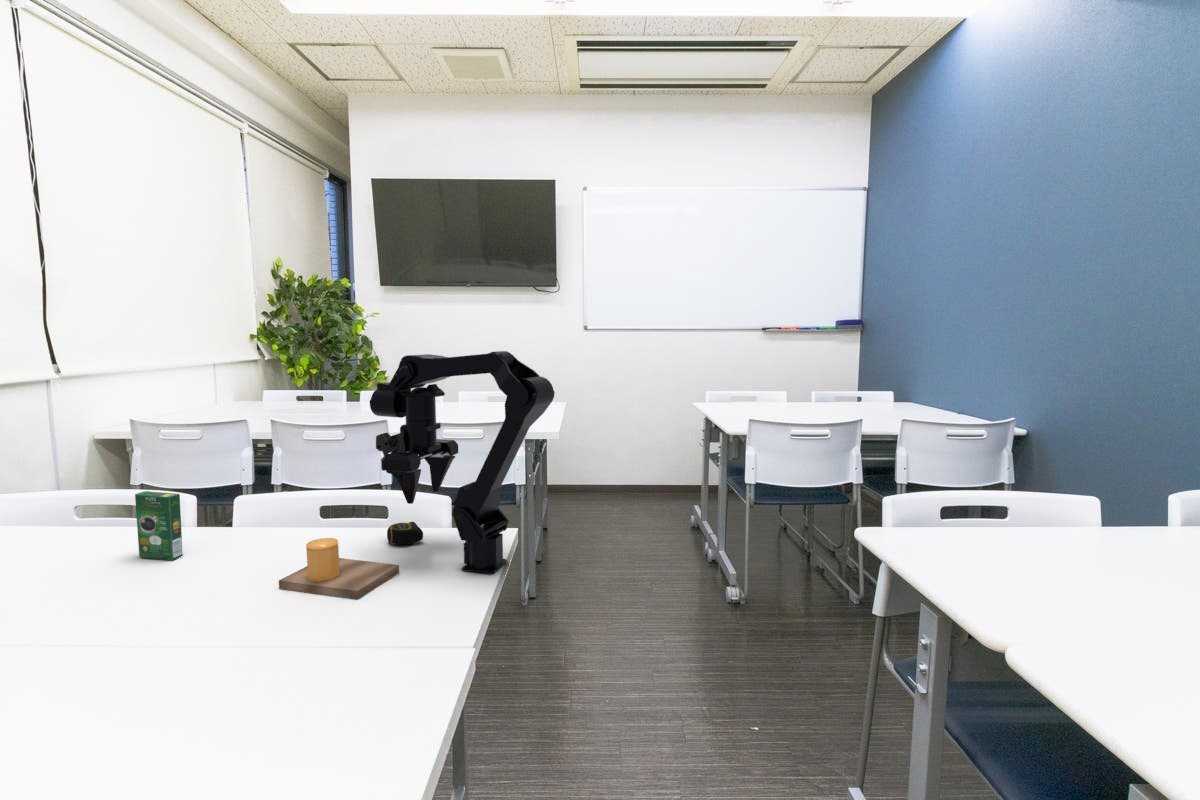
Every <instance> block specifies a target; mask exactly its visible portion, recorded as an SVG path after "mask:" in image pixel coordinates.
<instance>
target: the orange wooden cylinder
mask: <svg viewBox="0 0 1200 800" xmlns="http://www.w3.org/2000/svg"><path fill="white" fill-rule="evenodd" d="M338 540H339V539H337V538H333V537H321V538H318V539H313V540H310V541H309V542H307V543H306V546H305V547H306V564H307V565H306V566H307V568H308V578H309V580H311V581H324V580H330V579H333V578H335V577H337V576H338V575H340V569H339V558H340V553H339V550H340V549H339V541H338Z"/></svg>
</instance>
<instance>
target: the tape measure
mask: <svg viewBox="0 0 1200 800" xmlns="http://www.w3.org/2000/svg"><path fill="white" fill-rule="evenodd" d="M386 538H387V540H388V541H387V542H388V543H390V544H392V545H396V546H405V545H410V544H414V543H417V542H420V541H422V540H423V538H424V532H423V530H422V529H421V527H419V526H418V525H417V523H416V522H414V521H410V522H397V523H393V524H391V525H389V526H388V528H387V531H386Z"/></svg>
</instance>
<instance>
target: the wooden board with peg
mask: <svg viewBox="0 0 1200 800" xmlns="http://www.w3.org/2000/svg"><path fill="white" fill-rule="evenodd" d="M339 569H340V575H338V576H337V577H335V578H333V579H330V580H324V581H311V580H309V578H308V568H307V565H306V566H305V567H302V568H301V569H299V570H296V571H294V572H292V573H291V574H289V575H287V576H285V577H283V578H281V579H279V580H278V588H279V590H287V591H293V592H300V593H309V594H315V595H321V596H329V597H337V598H343V599H344V598H345V599H353V600H359V599H361V598H362V597H364V596H366V595H367V594H369V593H370V592H372V591H373V590H375V589H376V588H378V587H380V586H381V585H382V584H384V583H386V582H387V581H388V580H390V579H392V578H394V577H395V576H396V575H398V574H399V573H400V564H394V563H385V562H379V561H377V562H376V561H368V560H359V559H354V558H353V559H351V558H342V557H339Z"/></svg>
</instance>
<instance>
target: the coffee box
mask: <svg viewBox="0 0 1200 800" xmlns="http://www.w3.org/2000/svg"><path fill="white" fill-rule="evenodd" d="M180 495H181V494H180V493H173V492H172V493H171V492H161V491H160V492H159V491H149V490H146V491H145V490H144V491H141V492H137V493H135V494H134V496H135V497H134V498H135V499H134V500H135V511H136V527H137V539H138V540H137V542H138V557H139V558H140V557H141V559H146V558H149V559H150V558H153V560H162V559H165V560H164V561H172V560H173V561H175V560H177V559H176V558H178V557H180V558H182V557H183V556H184V555H183V537H182V534H183V533H182V517H181V513H182V512H181V496H180ZM181 556H182V557H181ZM174 559H175V560H174ZM178 559H179V558H178Z"/></svg>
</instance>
